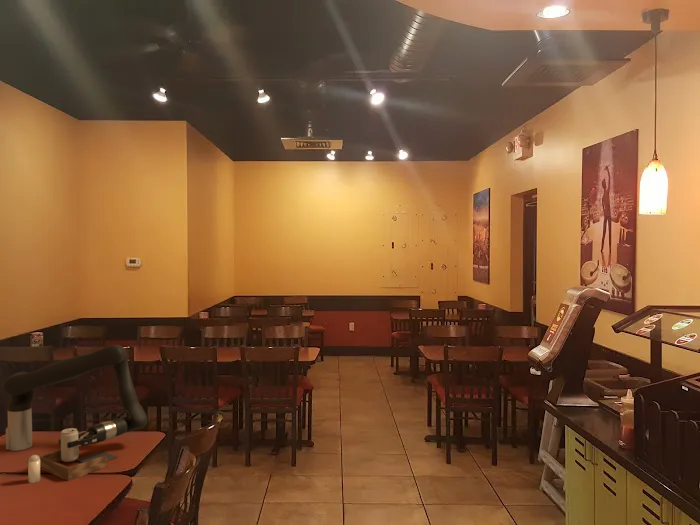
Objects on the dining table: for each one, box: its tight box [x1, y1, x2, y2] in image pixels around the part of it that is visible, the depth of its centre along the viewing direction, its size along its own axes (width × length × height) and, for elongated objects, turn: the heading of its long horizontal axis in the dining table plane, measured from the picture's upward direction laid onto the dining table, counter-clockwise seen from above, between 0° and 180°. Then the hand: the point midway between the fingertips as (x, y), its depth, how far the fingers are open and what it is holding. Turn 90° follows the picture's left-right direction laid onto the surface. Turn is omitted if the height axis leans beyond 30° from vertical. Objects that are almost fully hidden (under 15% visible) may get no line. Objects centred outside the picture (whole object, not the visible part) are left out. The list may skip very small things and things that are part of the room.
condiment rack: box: [38, 449, 108, 481], centre depth 225 cm, size 16×22×4 cm
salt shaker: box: [27, 454, 41, 484], centre depth 212 cm, size 4×4×10 cm
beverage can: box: [60, 427, 80, 463], centre depth 223 cm, size 6×6×12 cm
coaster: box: [76, 450, 119, 463], centre depth 234 cm, size 12×12×1 cm
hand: (63, 443), depth 222 cm, fingers closed on beverage can, 5 cm apart
